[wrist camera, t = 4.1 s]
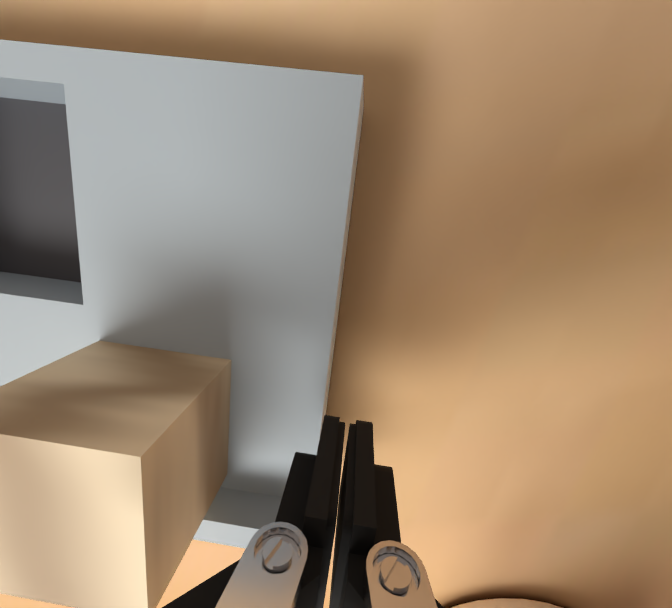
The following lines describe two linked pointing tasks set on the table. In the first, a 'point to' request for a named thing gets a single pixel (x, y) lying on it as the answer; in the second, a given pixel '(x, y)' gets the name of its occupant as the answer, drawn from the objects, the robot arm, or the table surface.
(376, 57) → the table surface
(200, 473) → the maple cube
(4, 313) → the board
